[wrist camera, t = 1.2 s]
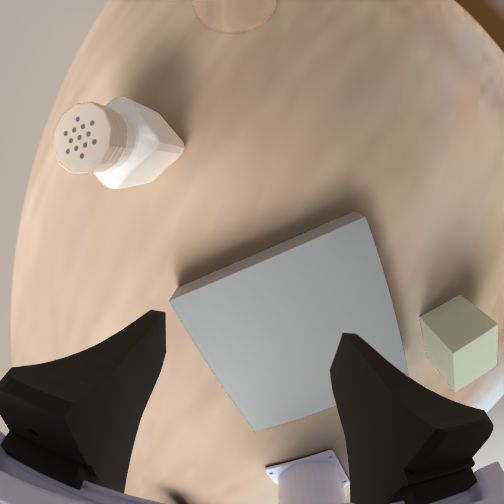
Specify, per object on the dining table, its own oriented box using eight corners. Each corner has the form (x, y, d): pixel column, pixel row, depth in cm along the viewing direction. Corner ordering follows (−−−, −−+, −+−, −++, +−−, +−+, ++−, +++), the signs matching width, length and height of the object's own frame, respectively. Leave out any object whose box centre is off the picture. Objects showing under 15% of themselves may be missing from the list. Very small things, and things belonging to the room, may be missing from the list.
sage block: (463, 332, 23) (496, 365, 18) (425, 354, 24) (454, 392, 18) (459, 294, 22) (498, 323, 17) (419, 316, 23) (452, 353, 17)
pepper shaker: (156, 108, 19) (88, 75, 10) (190, 148, 20) (137, 135, 11) (117, 146, 20) (34, 141, 11) (149, 186, 21) (75, 202, 12)
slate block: (396, 355, 24) (408, 374, 22) (254, 409, 26) (254, 431, 23) (352, 210, 21) (365, 216, 18) (179, 284, 23) (168, 300, 20)
